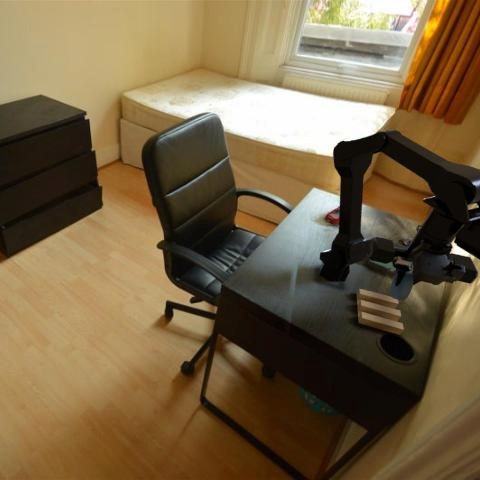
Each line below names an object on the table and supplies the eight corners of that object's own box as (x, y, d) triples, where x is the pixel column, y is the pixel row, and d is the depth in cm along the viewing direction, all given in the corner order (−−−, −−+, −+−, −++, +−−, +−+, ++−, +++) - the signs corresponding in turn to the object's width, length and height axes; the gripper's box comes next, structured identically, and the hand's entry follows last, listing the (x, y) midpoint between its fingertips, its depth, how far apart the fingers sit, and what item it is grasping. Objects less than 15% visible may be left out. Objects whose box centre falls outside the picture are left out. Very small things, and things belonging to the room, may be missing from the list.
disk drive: (376, 243, 108) (365, 267, 99) (380, 236, 106) (369, 260, 97) (413, 257, 103) (404, 283, 94) (417, 250, 101) (409, 276, 92)
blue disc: (388, 283, 80) (402, 262, 76) (396, 285, 79) (410, 264, 75) (392, 304, 75) (407, 283, 70) (400, 307, 74) (416, 285, 70)
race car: (343, 209, 123) (347, 200, 121) (357, 216, 119) (361, 207, 117) (320, 219, 118) (324, 210, 115) (334, 227, 114) (338, 218, 111)
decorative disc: (412, 252, 104) (413, 250, 103) (397, 240, 109) (399, 237, 108) (430, 250, 105) (431, 248, 104) (414, 238, 110) (416, 235, 109)
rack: (357, 325, 83) (362, 317, 81) (355, 295, 90) (359, 288, 88) (398, 337, 80) (404, 329, 78) (392, 305, 87) (397, 298, 86)
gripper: (389, 244, 62) (357, 299, 72) (511, 271, 57) (458, 326, 67) (383, 213, 70) (354, 266, 80) (489, 234, 65) (445, 288, 75)
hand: (400, 286), depth 75 cm, fingers closed on blue disc, 2 cm apart
